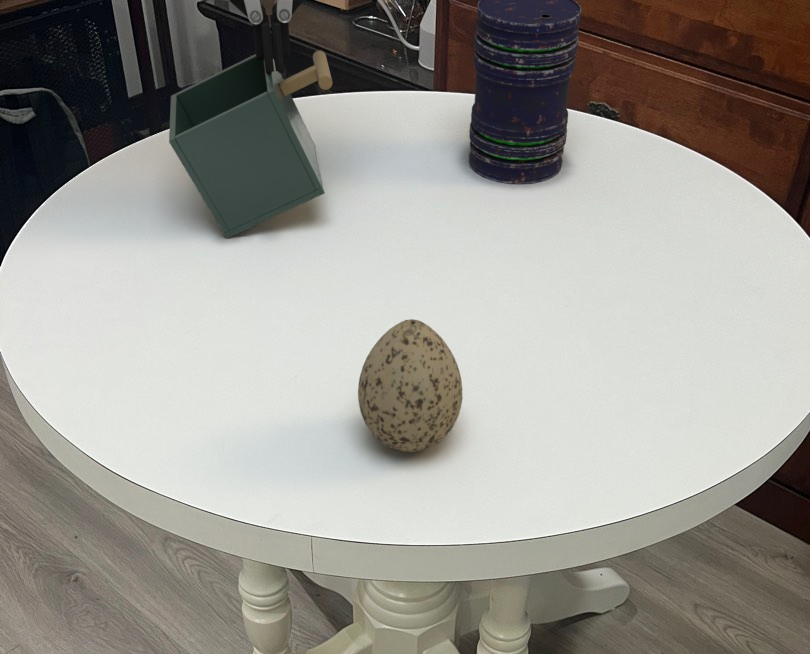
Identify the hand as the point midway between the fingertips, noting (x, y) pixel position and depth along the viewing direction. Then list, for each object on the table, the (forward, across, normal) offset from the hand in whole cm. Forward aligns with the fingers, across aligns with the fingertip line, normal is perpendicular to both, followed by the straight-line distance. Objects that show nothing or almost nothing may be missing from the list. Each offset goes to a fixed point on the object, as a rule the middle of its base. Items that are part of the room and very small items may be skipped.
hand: (274, 67), depth 86 cm
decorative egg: (+13, -6, +36) cm, 39 cm away
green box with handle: (+8, +8, 0) cm, 11 cm away
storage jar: (+14, -24, -7) cm, 29 cm away
